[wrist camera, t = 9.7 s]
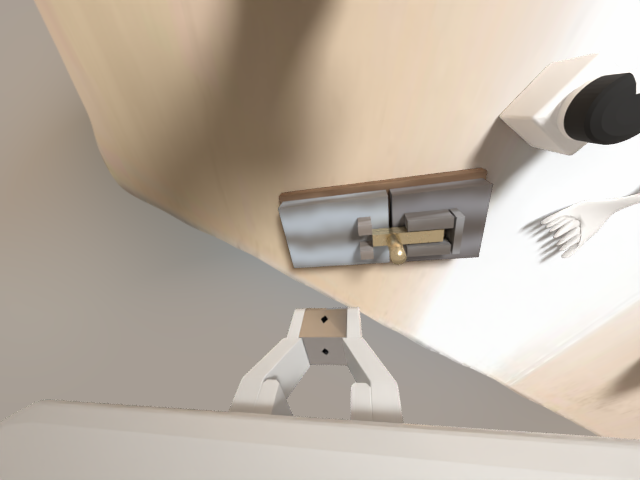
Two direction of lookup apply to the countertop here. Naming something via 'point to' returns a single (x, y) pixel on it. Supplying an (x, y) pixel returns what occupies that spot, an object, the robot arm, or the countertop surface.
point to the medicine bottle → (577, 105)
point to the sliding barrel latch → (386, 218)
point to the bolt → (403, 240)
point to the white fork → (584, 220)
